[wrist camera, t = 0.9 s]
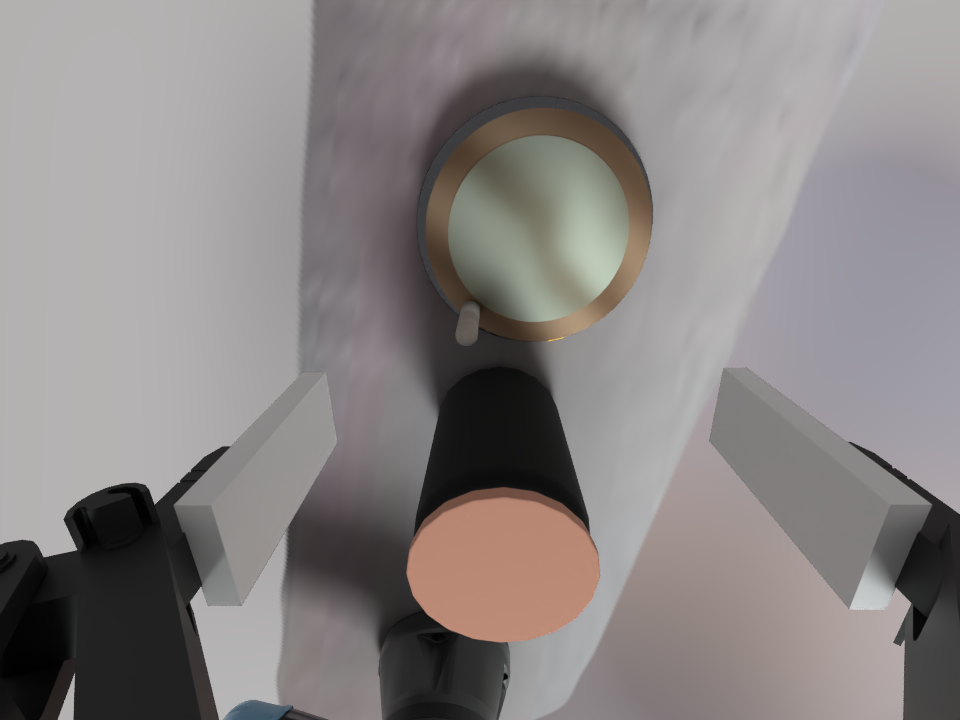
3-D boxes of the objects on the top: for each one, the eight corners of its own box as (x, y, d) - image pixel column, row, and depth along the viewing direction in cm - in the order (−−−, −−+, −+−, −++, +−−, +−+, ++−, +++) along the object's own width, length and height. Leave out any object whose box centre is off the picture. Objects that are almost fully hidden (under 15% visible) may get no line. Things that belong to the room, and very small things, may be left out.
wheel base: (536, 378, 40) (537, 384, 39) (371, 240, 36) (368, 242, 34) (699, 219, 34) (706, 220, 33) (529, 34, 30) (530, 29, 29)
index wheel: (536, 365, 39) (548, 417, 30) (389, 240, 35) (357, 259, 27) (682, 221, 34) (745, 235, 25) (530, 59, 30) (545, 13, 22)
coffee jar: (462, 475, 44) (444, 658, 27) (423, 380, 40) (374, 524, 23) (569, 448, 42) (619, 623, 26) (539, 346, 39) (575, 474, 22)
